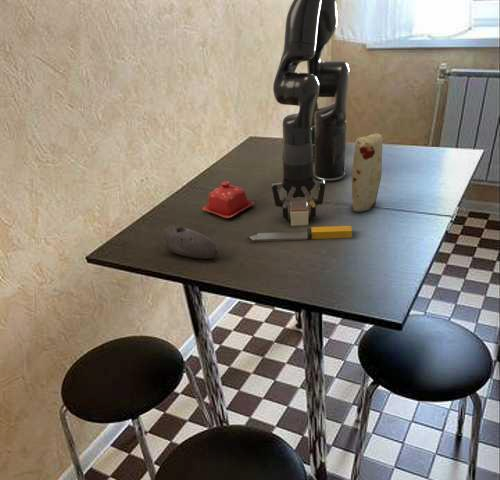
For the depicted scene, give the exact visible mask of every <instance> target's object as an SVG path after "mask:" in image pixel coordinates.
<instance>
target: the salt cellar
mask: <svg viewBox="0 0 500 480" xmlns="http://www.w3.org/2000/svg"><path fill="white" fill-rule="evenodd" d="M295 226H297V227H298V226H309V201H308V200H296V201H290V227H295Z"/></svg>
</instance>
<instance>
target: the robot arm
mask: <svg viewBox="0 0 500 480" xmlns="http://www.w3.org/2000/svg"><path fill="white" fill-rule="evenodd" d="M337 26H338V10H337V1H336V0H292V2H291V4H290V6H289V9H288V11H287V15H286V19H285V26H284V27H285V28H284V29H285V30H284V41H283V42H284V43H283V51H282V54H281V55H282V56H281V57H280V61H279V65H278V68H277V70H276V74H275V77H274V81H273V86H272V92H273V97H274V99H275V101H276V102H277V103H278V104H280V105H284V106H297V107H298V108H299V109H298V113H297V112H296V113H291V114H288V115H285V116H284V118H283V119H282V124H281V125H282V156H281V158H282V173H283V176H282V177H283V179H282V181H281V182H276V181H273V182H272V184H271V190H272V194H273V199H274V205H275V207H278V208H279V207H280V208H281V209H282V218H283V219H284V220H285V222H286V221H289V204H290V203H291V200H292V198H293V199H297V198H305V199H306V201H307V202H308V204H309V208H310V209H309V214H310V216H309V217H310V220H314V218H316V216H317V206H319V205H320V206H321V205H323V203H324V197H325V191H326V183H330V182H331V183H332V182H337V181H341V180H342V179H344V178H345V176H346V172H345V170H346V145H347V144H346V142H347V141H346V140H347V112H348V111H347V110H348V93H349V83H350V67H349V64H348V63H347V62H346V61H342V60H337V61H336V60H335V61H334V60H333V61H331V60H330V61H329V60H327V61H325V60H324V61H323V60H321V56H322V54H323V51H324V50H325V48H326V47H327V45H328V44H329V42H330V40H331V39H332V37H333V36H334V34H335V32H336V29H337ZM303 62H304V63H305V62H306V71H307V72H296V70H297V67H298V65H300V64H301V63H303ZM318 98H334V101H333V102H332V103H330V104H328V105H326V106H325V105H324V106H322V107H320V108H319V109H318V110H317V111H316V112H315V158H313V146H312V120H313V115H314V110H315V106H316V103H317V104H318ZM315 179H316V180H315ZM314 187H316V190H318V194H317V198H315V196H314V195H313V193H312V190H313V189H314ZM281 189H283V190H284V191H285V195H284V198H283V199H281V198H280V192H281Z"/></svg>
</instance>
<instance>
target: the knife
mask: <svg viewBox="0 0 500 480" xmlns="http://www.w3.org/2000/svg"><path fill="white" fill-rule="evenodd" d="M351 238H353V228H352V225H336V226H335V225H334V226H332V225H331V226H311V227H308V228H307V231H281V232H275V231H274V232H257V233H256V234H254V235H251V236H249V240H250V241H251V242H252V243H255V242H257V243H259V242H282V241H285V242H286V241H308V240H321V239H322V240H323V239H324V240H325V239H326V240H327V239H351Z"/></svg>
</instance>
